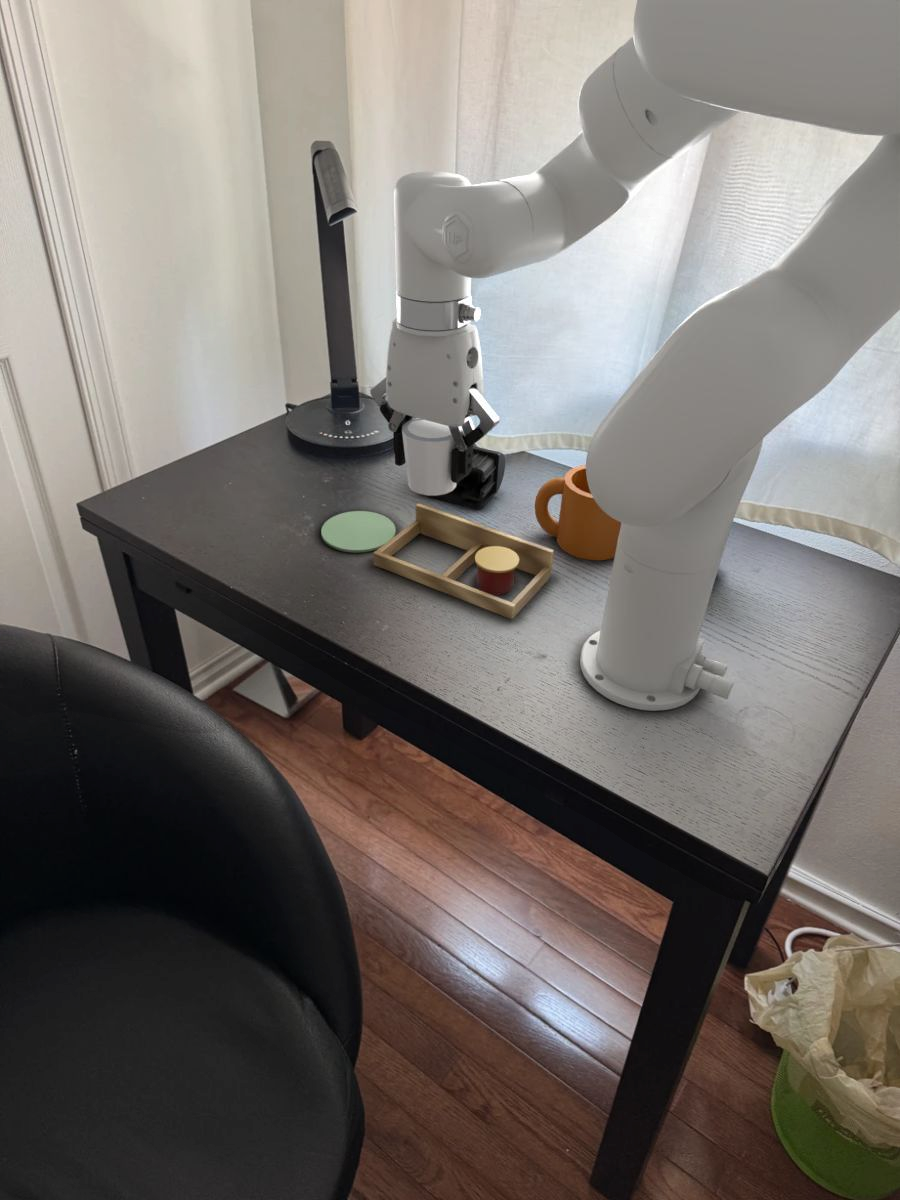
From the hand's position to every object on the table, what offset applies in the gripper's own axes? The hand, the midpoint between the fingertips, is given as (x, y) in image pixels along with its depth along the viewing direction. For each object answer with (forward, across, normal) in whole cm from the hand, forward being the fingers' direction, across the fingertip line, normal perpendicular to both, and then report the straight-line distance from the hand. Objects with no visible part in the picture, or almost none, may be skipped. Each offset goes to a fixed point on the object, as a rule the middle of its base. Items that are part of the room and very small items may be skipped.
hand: (432, 468), depth 91 cm
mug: (+13, -13, -15) cm, 24 cm away
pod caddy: (+13, -4, 0) cm, 13 cm away
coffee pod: (+13, -9, 0) cm, 16 cm away
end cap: (+13, +6, -17) cm, 22 cm away
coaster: (+12, +11, 0) cm, 17 cm away
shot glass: (+2, 0, 0) cm, 2 cm away
